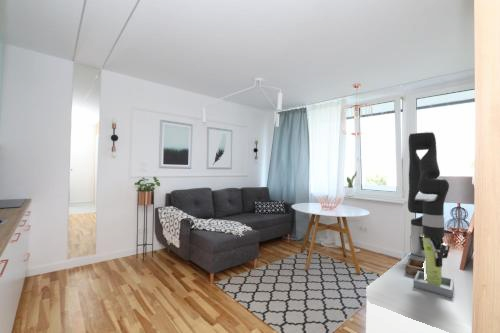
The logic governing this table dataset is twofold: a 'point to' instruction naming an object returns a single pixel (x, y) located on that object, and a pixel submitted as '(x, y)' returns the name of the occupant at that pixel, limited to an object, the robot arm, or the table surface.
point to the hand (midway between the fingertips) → (433, 263)
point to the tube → (431, 263)
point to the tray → (443, 289)
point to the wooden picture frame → (414, 266)
